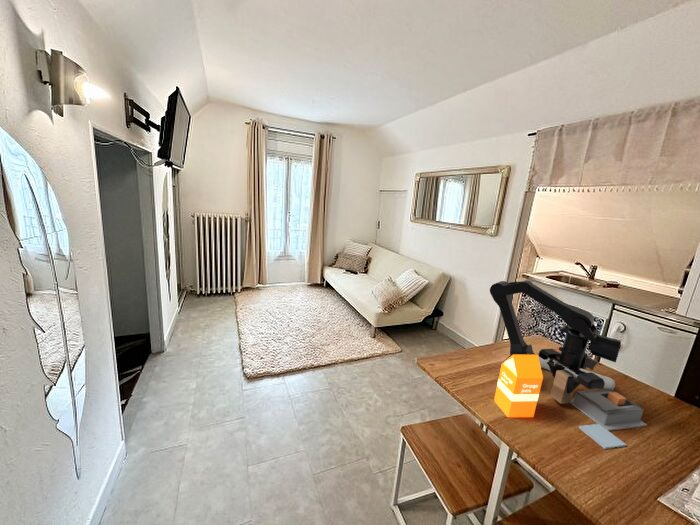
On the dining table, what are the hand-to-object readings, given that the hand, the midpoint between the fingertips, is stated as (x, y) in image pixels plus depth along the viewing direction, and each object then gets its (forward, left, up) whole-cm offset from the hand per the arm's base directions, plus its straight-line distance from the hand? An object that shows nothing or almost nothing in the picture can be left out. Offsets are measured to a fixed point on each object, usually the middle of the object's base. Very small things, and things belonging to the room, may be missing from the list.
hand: (562, 388), depth 94 cm
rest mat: (0, -14, -6) cm, 15 cm away
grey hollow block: (+12, -6, -6) cm, 15 cm away
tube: (+20, +12, -6) cm, 24 cm away
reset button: (+15, -6, -2) cm, 16 cm away
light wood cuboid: (0, 0, -4) cm, 4 cm away
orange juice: (-19, 0, -6) cm, 20 cm away
